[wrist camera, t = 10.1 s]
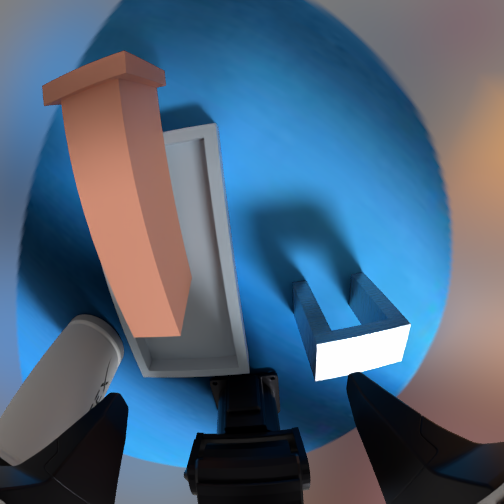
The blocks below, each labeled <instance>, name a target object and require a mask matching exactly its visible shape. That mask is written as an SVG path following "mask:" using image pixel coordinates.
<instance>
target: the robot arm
mask: <svg viewBox="0 0 504 504" xmlns="http://www.w3.org/2000/svg"><path fill="white" fill-rule="evenodd" d="M271 377H273V378H271ZM215 382H216V383H215ZM210 386H211V389H212V392H213V395H214V399H215V402H216V405H217V408H218V420H217V434H204V433H197V435H196V439H194V442H193V446H192V450H191V453H190V457H189V461H188V465H187V468H186V470H185V472H184V478H185V479H186V480H187V481H188V482H189V486H190V490H191V492H192V494H193V495H197V498H198V504H304V503H303V490H309V488H310V470H309V463H308V458H307V455H306V452H305V448H304V445H303V442H302V439H301V436H300V432H299V429H298V427H295V428H292V429H287V430H280V425H279V419H278V413H279V412H280V402H279V387H278V376H277V373H275V372H270V373H261V374H252V375H241V376H229V377H214V378H211V379H210ZM346 389H347V395H348V398H349V402H350V406H351V409H352V413H353V417H354V421H355V424H356V427H357V430H358V432H359V434H360V437H361V440H362V442H363V445H364V447H365V449H366V452H367V454H368V457H369V459H370V462H371V464H372V467H373V470H374V472H375V475H376V477H377V480H378V483H379V485H380V488H381V491H382V493H383V496H384V499H385V501H386V504H504V442H498V443H488V444H480V443H475V442H472V441H469V440H467V439H465V438H463V437H461V436H459V435H457V434H454V433H452V432H450V431H448V430H446V429H444V428H442V427H441V426H439V425H437V424H435V423H434V422H432V421H430V420H429V419H427V418H426V417H424V416H421V414H420V413H418V412H417V411H415V410H414V409H412V408H411V407H409V406H408V405H406V404H405V403H404V402H402V401H401V400H399V399H398V398H396V397H395V396H394V395H392V394H391V393H389V392H388V391H386V390H385V389H384V388H382V387H381V386H379V385H378V384H376V383H375V382H374V381H372V380H371V379H369V378H368V377H367V376H365V375H364V374H362V373H361V372H359V371H357V372H353V373H350V374H349V375H348V380H347V388H346ZM127 419H128V406H127V404H126V402H125V401H124V399H123V397H122V396H121V394H119V393H109V394H108V395H107V396H106V397H105V398H104V399H102V400H101V401H100V402H99V403H98V404H97V405H95V406H94V407H93V408H92V409H91V410H89V411H88V412H87V413H86V414H85V415H84V416H82V417H81V418H80V419H79V420H78V421H76V422H75V423H74V424H73V425H72V426H71V427H69V428H68V429H67V430H66V431H65V432H63V433H62V434H61V435H60V436H59V437H58V438H56V439H55V440H54V441H53V442H51V443H50V444H49V445H48V446H46V447H45V448H44V449H42V450H41V451H39V452H38V453H36V454H35V455H33V456H32V457H30V458H29V459H27V460H26V461H24V462H23V463H21V464H19V465H16V466H0V504H114V503H115V496H116V489H117V483H118V477H119V471H120V466H121V460H122V455H123V450H124V445H125V439H126V429H127Z"/></svg>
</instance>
